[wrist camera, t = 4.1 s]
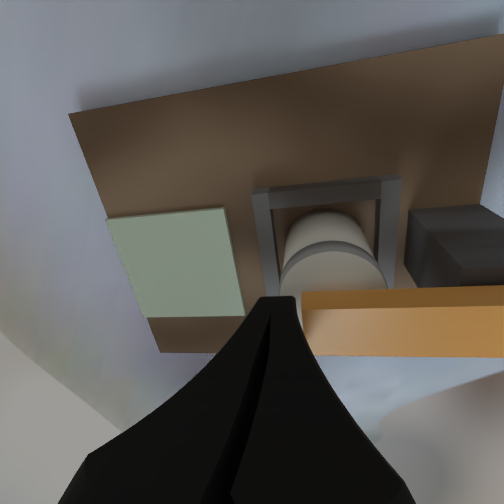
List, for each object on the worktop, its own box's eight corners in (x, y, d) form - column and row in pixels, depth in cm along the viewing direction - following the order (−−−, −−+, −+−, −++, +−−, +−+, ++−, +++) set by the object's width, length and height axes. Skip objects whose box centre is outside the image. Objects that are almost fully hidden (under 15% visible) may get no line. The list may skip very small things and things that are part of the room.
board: (442, 343, 19) (503, 451, 13) (165, 342, 22) (119, 425, 17) (497, 36, 12) (688, -23, 6) (81, 113, 15) (-49, 122, 10)
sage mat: (245, 312, 19) (244, 315, 18) (145, 314, 20) (143, 317, 20) (224, 207, 16) (223, 209, 15) (108, 218, 17) (105, 220, 17)
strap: (693, 334, 9) (736, 360, 8) (305, 335, 11) (305, 355, 10) (731, 277, 8) (784, 300, 7) (301, 291, 10) (301, 310, 9)
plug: (364, 274, 16) (386, 340, 12) (288, 277, 17) (283, 340, 13) (366, 202, 14) (393, 249, 10) (281, 210, 15) (272, 256, 11)
